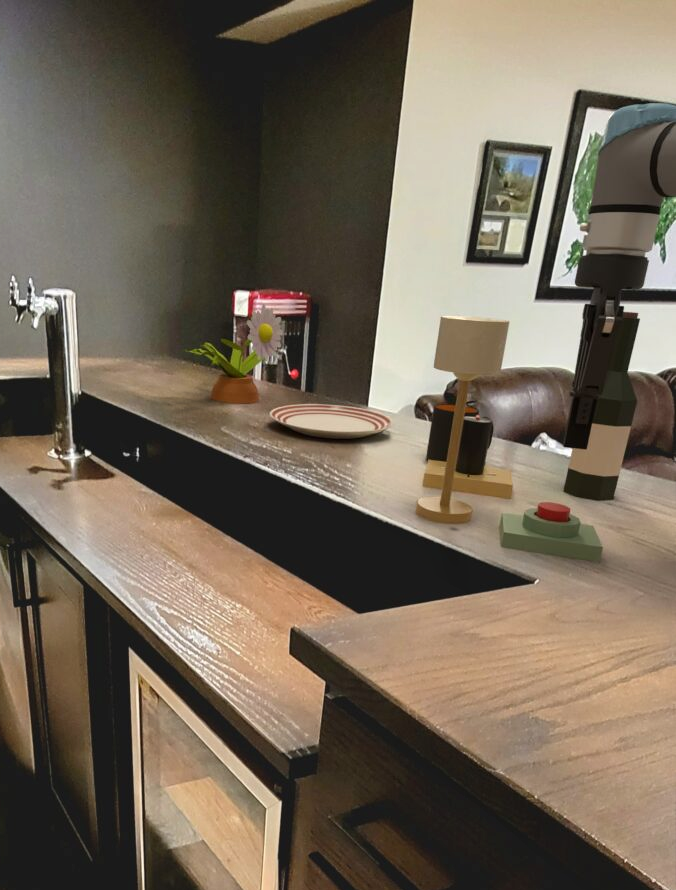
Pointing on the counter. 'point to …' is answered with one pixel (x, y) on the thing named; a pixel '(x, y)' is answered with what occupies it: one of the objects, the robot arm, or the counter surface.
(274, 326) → the decorative plant
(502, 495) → the tan flat block
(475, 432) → the black cylinder
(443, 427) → the mug
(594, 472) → the wine bottle
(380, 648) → the counter surface
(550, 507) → the lamp button
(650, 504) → the counter surface
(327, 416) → the dinner plate
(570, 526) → the switch block
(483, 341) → the lamp
